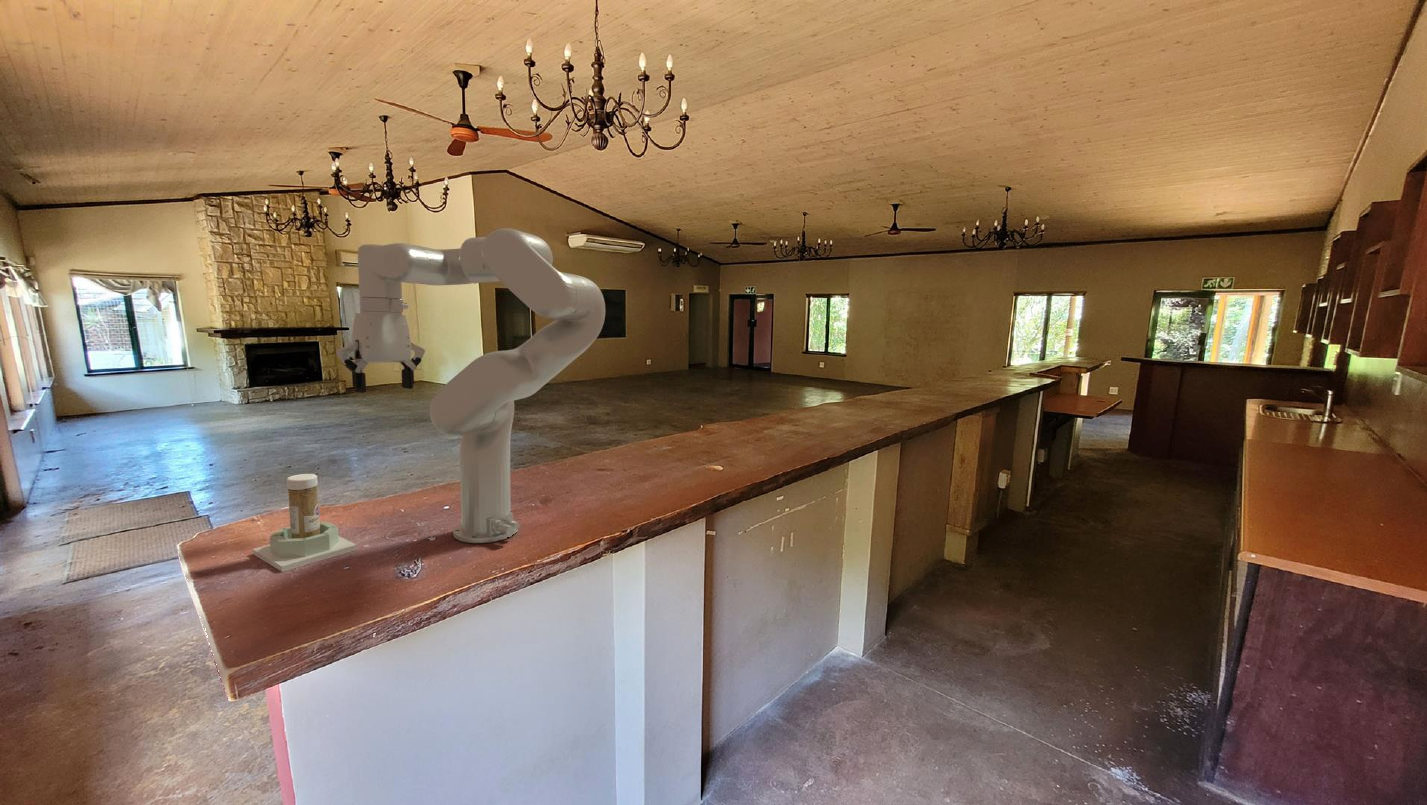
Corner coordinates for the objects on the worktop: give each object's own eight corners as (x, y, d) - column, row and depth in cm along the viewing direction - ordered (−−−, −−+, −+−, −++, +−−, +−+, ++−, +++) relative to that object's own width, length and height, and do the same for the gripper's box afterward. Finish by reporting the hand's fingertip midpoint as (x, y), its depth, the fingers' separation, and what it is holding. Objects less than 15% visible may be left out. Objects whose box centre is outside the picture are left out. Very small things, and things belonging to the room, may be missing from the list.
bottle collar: (357, 549, 106) (356, 529, 106) (282, 571, 96) (280, 549, 96) (326, 534, 113) (325, 515, 112) (253, 554, 103) (251, 533, 102)
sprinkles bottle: (321, 548, 104) (316, 477, 102) (290, 553, 101) (285, 481, 99) (321, 540, 108) (317, 471, 106) (292, 544, 105) (287, 474, 103)
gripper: (412, 308, 125) (415, 385, 128) (325, 305, 111) (330, 391, 113) (432, 309, 121) (434, 388, 124) (345, 305, 107) (349, 395, 109)
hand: (384, 390), depth 118 cm, fingers open, 9 cm apart
